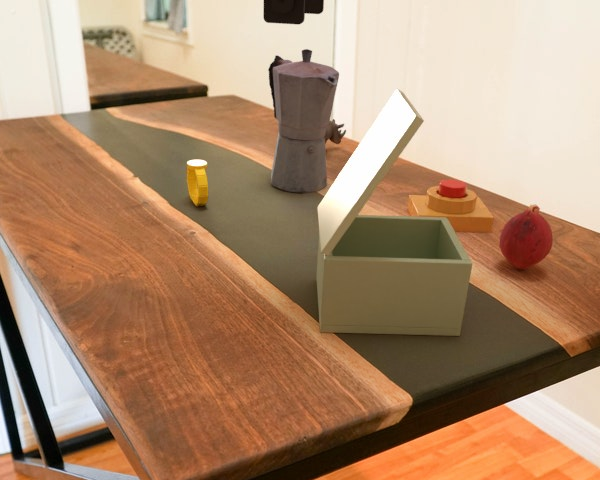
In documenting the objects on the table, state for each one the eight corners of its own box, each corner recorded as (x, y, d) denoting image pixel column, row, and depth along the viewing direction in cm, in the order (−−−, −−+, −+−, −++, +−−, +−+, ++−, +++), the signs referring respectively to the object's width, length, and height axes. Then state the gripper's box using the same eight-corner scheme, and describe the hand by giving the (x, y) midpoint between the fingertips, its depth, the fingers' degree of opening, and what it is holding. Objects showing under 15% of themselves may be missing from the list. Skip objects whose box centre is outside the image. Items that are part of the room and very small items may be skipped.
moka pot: (307, 203, 95) (313, 57, 85) (241, 176, 105) (240, 43, 95) (352, 190, 101) (363, 52, 91) (286, 166, 111) (289, 39, 101)
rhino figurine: (353, 149, 121) (355, 116, 118) (295, 161, 113) (296, 126, 110) (338, 144, 124) (340, 112, 121) (280, 155, 116) (281, 121, 113)
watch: (182, 197, 95) (180, 156, 93) (201, 195, 96) (200, 155, 94) (194, 211, 91) (192, 169, 88) (213, 208, 92) (212, 167, 89)
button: (461, 191, 91) (463, 179, 90) (467, 200, 88) (469, 188, 87) (435, 191, 91) (437, 178, 90) (441, 200, 88) (442, 187, 87)
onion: (534, 285, 74) (550, 218, 70) (486, 270, 77) (498, 205, 73) (551, 268, 78) (567, 204, 74) (505, 255, 81) (518, 193, 77)
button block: (476, 211, 95) (481, 184, 93) (491, 232, 88) (496, 204, 86) (407, 209, 94) (410, 182, 92) (416, 230, 87) (420, 202, 85)
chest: (437, 282, 74) (446, 217, 70) (460, 336, 64) (472, 263, 60) (316, 278, 74) (319, 213, 70) (319, 332, 63) (324, 259, 60)
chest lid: (403, 92, 64) (397, 88, 64) (424, 120, 54) (416, 115, 54) (323, 211, 70) (316, 207, 70) (328, 256, 60) (320, 252, 59)
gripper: (337, -271, 40) (323, 31, 48) (365, -210, 55) (350, 12, 63) (219, -269, 41) (224, 25, 49) (277, -211, 56) (274, 8, 64)
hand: (295, 17), depth 56 cm, fingers open, 9 cm apart
